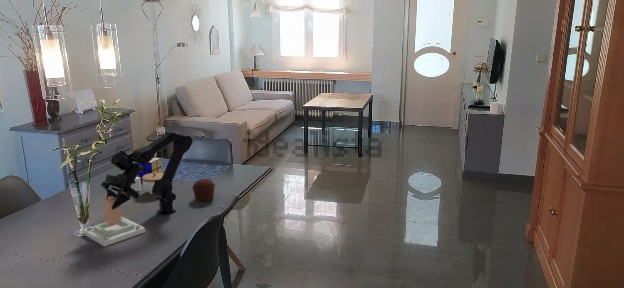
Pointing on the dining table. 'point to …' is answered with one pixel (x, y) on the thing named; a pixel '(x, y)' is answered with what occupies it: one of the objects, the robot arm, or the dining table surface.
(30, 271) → the dining table surface
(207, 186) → the muffin
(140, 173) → the puzzle cube
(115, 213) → the tall brick
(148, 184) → the lidded bowl
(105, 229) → the base plate
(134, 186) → the medicine bottle
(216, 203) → the dining table surface
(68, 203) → the dining table surface
